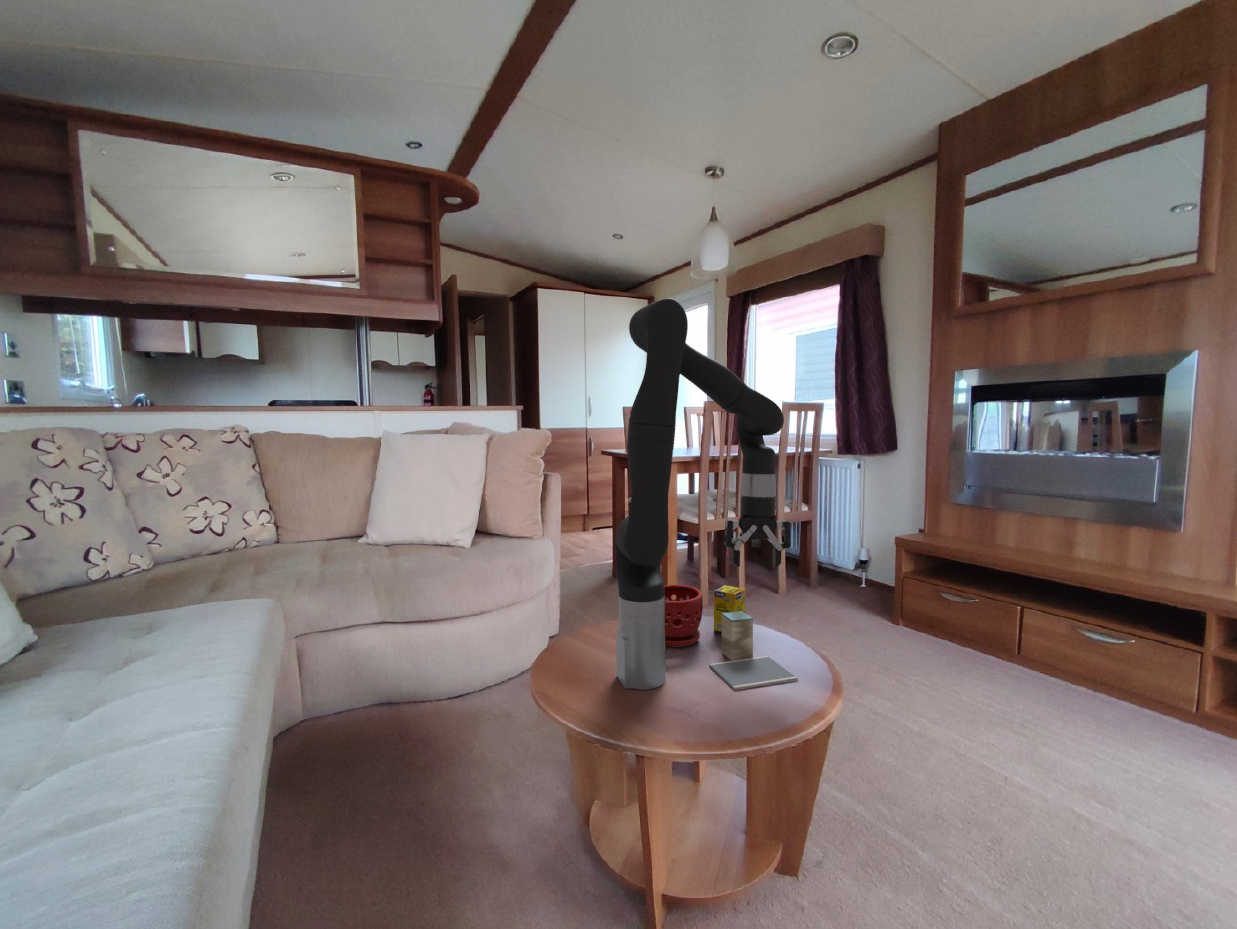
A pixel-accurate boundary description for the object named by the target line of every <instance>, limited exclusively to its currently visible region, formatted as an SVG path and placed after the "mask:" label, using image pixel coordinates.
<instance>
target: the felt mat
mask: <svg viewBox="0 0 1237 929" xmlns="http://www.w3.org/2000/svg"><path fill="white" fill-rule="evenodd" d="M708 664H709V667H710V669H711V670H712V671H713V672H714V673H715V674H717V675H718V677H720V678H721V679H722V680H723V681H724V682H725V683H726V684H728V686H729V687H730V688H732V690H733V691H740V690H745V689H752V688H757V687H764V686H765V687H766V686H772V685H778V684H782V683H789V682H791V683H792V682H796V681H798V679H799V678H798V677H797V676H796V675H794V674H793V673H792V672H790V671H789V670H787V669H786V668H785V667H783V666H782V665H781V664H780V663H778V662H777V661H775V660H774V659H772V658H771V657H769V656H768V655H763V656H757V657H753V658H749V659H742V660H734V661H732V660H729V661H720V662H714V663H708Z"/></svg>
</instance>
